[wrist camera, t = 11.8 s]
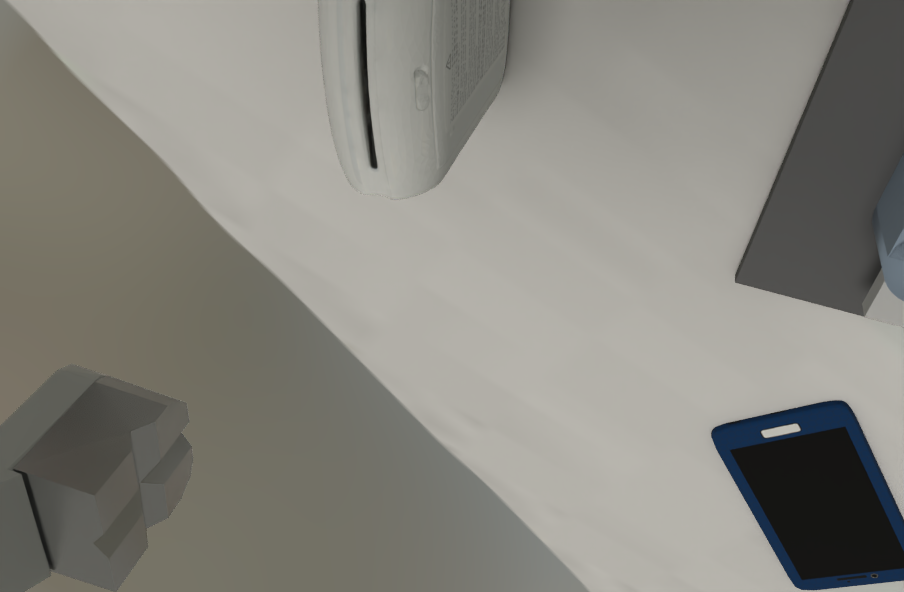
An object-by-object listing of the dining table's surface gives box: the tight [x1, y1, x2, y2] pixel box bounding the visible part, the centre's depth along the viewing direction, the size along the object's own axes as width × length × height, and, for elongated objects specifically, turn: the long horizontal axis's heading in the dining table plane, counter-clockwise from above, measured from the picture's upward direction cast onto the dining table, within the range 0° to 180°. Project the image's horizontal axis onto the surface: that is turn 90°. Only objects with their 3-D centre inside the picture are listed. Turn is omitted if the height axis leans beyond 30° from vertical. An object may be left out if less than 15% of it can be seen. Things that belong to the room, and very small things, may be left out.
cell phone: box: [711, 401, 904, 590], centre depth 47 cm, size 7×14×1 cm, turn 32°
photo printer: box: [318, 0, 510, 200], centre depth 31 cm, size 10×4×12 cm, turn 0°
